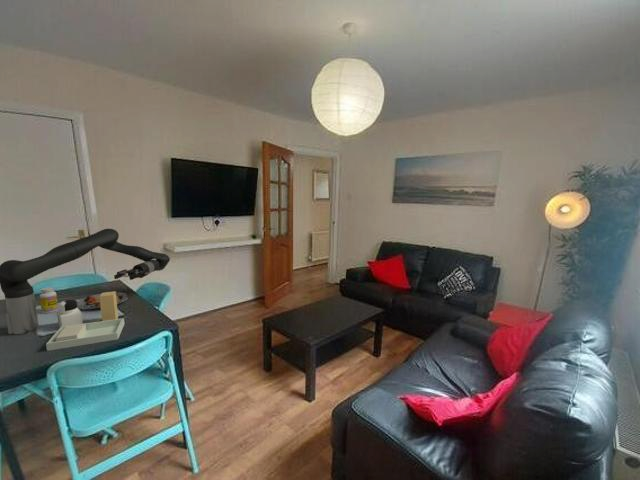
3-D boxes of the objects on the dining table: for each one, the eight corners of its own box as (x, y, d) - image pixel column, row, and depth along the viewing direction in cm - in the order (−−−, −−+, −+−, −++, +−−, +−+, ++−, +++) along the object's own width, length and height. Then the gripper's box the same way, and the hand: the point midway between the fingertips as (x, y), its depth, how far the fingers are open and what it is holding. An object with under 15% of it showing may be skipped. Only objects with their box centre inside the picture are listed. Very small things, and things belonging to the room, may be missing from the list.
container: (79, 321, 145) (76, 297, 142) (83, 326, 140) (80, 301, 138) (58, 327, 139) (55, 301, 137) (62, 332, 134) (58, 306, 132)
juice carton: (102, 325, 142) (99, 296, 139) (105, 320, 146) (102, 292, 144) (116, 323, 144) (113, 294, 141) (118, 319, 149) (115, 291, 146)
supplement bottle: (48, 314, 152) (45, 291, 150) (38, 312, 153) (34, 289, 151) (61, 309, 158) (58, 286, 156) (52, 308, 160) (49, 285, 158)
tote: (47, 353, 118) (46, 343, 117) (62, 334, 132) (61, 326, 131) (118, 341, 128) (117, 333, 127) (124, 325, 142) (123, 318, 141)
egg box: (56, 347, 120) (55, 338, 120) (67, 333, 131) (66, 325, 130) (78, 343, 123) (76, 335, 122) (86, 331, 134) (85, 323, 133)
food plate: (77, 300, 171) (76, 294, 170) (124, 292, 186) (123, 287, 185) (78, 315, 152) (77, 309, 152) (130, 305, 167) (129, 300, 167)
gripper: (131, 262, 168) (109, 270, 152) (154, 263, 166) (134, 271, 150) (132, 274, 169) (110, 283, 153) (155, 276, 168) (135, 285, 152)
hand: (122, 277), depth 152 cm, fingers open, 8 cm apart
